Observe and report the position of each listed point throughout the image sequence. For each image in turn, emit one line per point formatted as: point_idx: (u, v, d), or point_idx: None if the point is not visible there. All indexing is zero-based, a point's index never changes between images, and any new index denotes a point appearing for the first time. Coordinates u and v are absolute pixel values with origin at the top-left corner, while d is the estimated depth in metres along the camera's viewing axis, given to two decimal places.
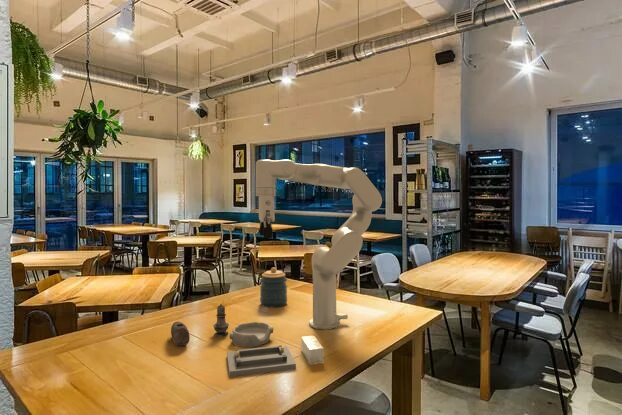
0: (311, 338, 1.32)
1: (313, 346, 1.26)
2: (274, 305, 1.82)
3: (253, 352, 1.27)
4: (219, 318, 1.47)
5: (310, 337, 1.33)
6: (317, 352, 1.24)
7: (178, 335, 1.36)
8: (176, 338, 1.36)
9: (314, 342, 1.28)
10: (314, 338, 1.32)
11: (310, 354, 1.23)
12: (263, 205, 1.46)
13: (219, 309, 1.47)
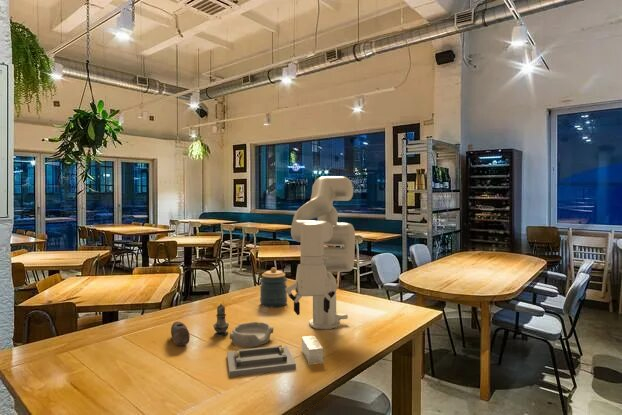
0: (312, 338, 1.32)
1: (313, 346, 1.26)
2: (274, 305, 1.82)
3: (253, 352, 1.27)
4: (219, 318, 1.47)
5: (310, 337, 1.33)
6: (317, 352, 1.24)
7: (178, 335, 1.36)
8: (176, 338, 1.36)
9: (314, 342, 1.28)
10: (314, 338, 1.32)
11: (310, 354, 1.23)
12: (327, 275, 1.27)
13: (219, 309, 1.47)
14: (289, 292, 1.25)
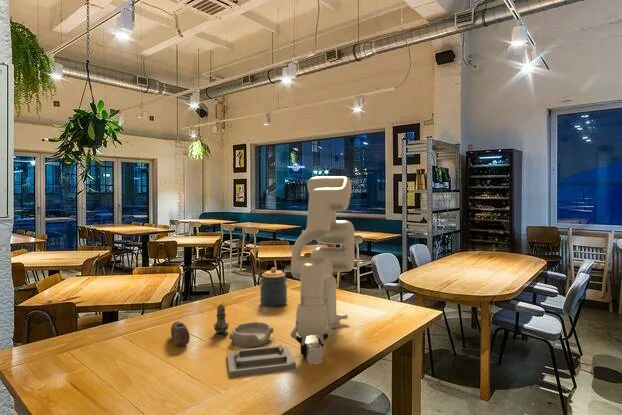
0: (312, 337, 1.32)
1: (313, 345, 1.25)
2: (274, 305, 1.82)
3: (253, 352, 1.27)
4: (219, 318, 1.47)
5: (310, 336, 1.33)
6: (317, 352, 1.23)
7: (178, 335, 1.36)
8: (176, 338, 1.36)
9: (314, 342, 1.28)
10: (314, 338, 1.32)
11: (309, 353, 1.23)
12: (326, 315, 1.28)
13: (219, 309, 1.47)
14: (294, 336, 1.26)
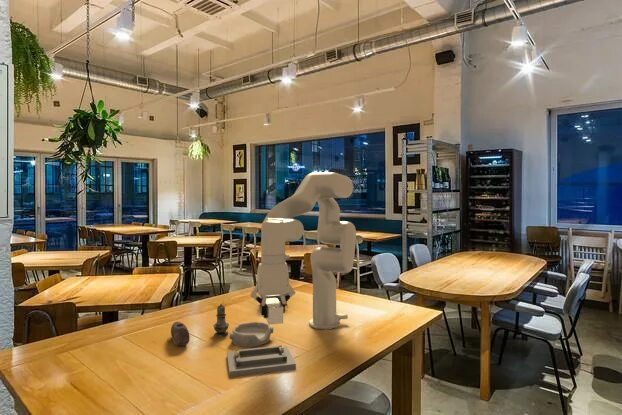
0: (274, 299, 1.28)
1: (274, 305, 1.21)
2: None
3: (253, 352, 1.27)
4: (219, 318, 1.47)
5: (272, 299, 1.29)
6: (277, 311, 1.19)
7: (178, 335, 1.36)
8: (176, 338, 1.36)
9: (275, 303, 1.24)
10: (276, 299, 1.28)
11: (269, 313, 1.19)
12: (288, 274, 1.24)
13: (219, 309, 1.47)
14: (255, 296, 1.22)
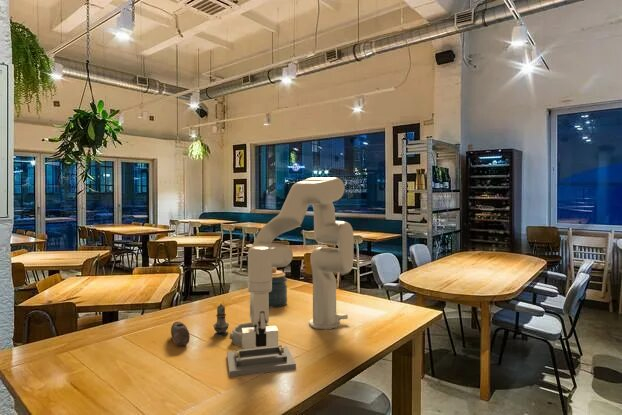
0: (248, 329, 1.24)
1: (270, 328, 1.24)
2: (274, 305, 1.82)
3: (253, 352, 1.27)
4: (219, 318, 1.47)
5: (246, 329, 1.23)
6: None
7: (178, 335, 1.36)
8: (176, 338, 1.36)
9: None
10: (249, 328, 1.25)
11: None
12: None
13: (219, 309, 1.47)
14: None
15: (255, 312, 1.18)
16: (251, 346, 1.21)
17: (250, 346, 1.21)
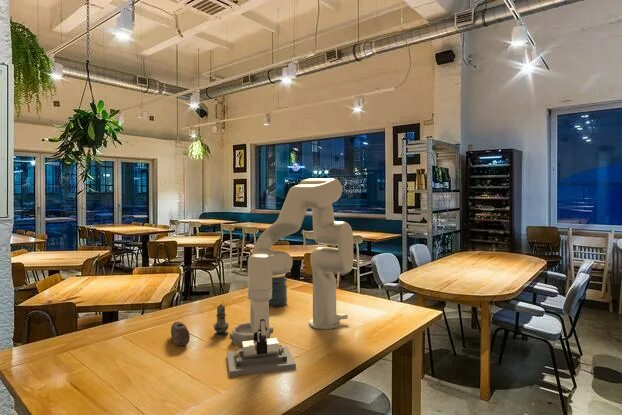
0: (248, 342, 1.24)
1: (270, 341, 1.25)
2: (274, 305, 1.82)
3: None
4: (219, 318, 1.47)
5: (246, 343, 1.24)
6: None
7: (178, 335, 1.36)
8: (176, 338, 1.36)
9: None
10: (250, 341, 1.25)
11: (278, 347, 1.24)
12: None
13: (219, 309, 1.47)
14: None
15: (255, 320, 1.18)
16: None
17: None
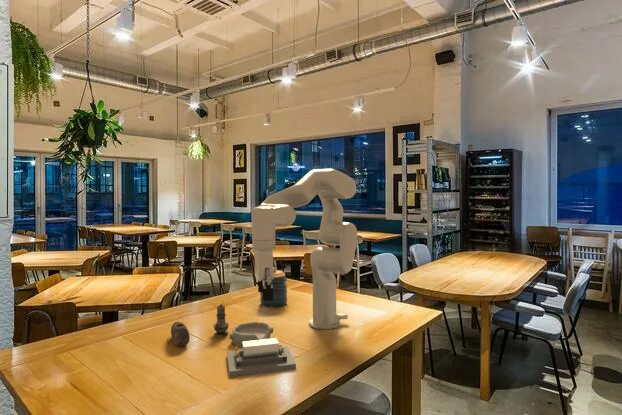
0: (248, 342, 1.24)
1: (270, 341, 1.25)
2: (274, 305, 1.82)
3: None
4: (219, 318, 1.47)
5: (246, 343, 1.24)
6: None
7: (178, 335, 1.36)
8: (176, 338, 1.36)
9: (261, 341, 1.25)
10: (250, 341, 1.25)
11: (278, 347, 1.24)
12: None
13: (219, 309, 1.47)
14: None
15: (260, 268, 1.23)
16: None
17: None
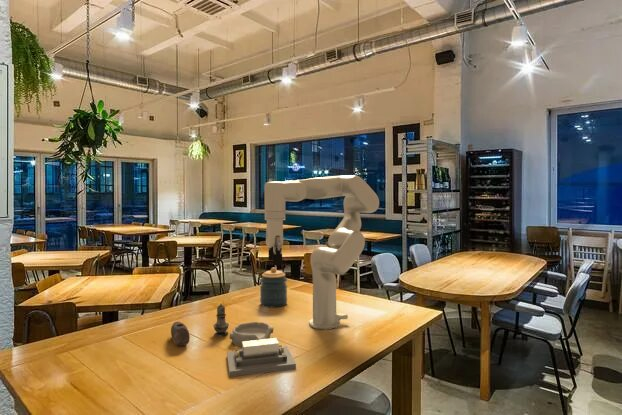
0: (248, 342, 1.24)
1: (270, 341, 1.25)
2: (274, 305, 1.82)
3: None
4: (219, 318, 1.47)
5: (246, 343, 1.24)
6: None
7: (178, 335, 1.36)
8: (176, 338, 1.36)
9: (261, 341, 1.25)
10: (250, 341, 1.25)
11: (278, 347, 1.24)
12: None
13: (219, 309, 1.47)
14: None
15: (271, 236, 1.37)
16: None
17: None
